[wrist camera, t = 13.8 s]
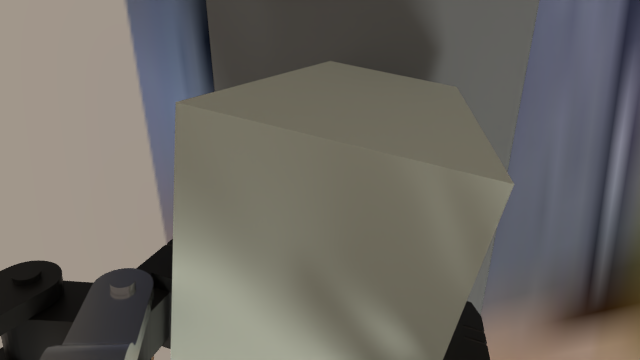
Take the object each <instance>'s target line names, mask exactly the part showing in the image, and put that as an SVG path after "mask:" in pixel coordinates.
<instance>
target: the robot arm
mask: <svg viewBox="0 0 640 360" xmlns="http://www.w3.org/2000/svg"><path fill="white" fill-rule="evenodd" d="M172 263H173V239H172V240H171V241H169V242H168V243H167V245H165V246H163V247H162V248H161V249H160V250H159V251H157V252H156V253H155V254H154V255H153V256H151V257H150V258H149V259H148V260H146V261H145V262H144V263H143V264H141V265H140V266H139V267H138V268H136V269H134V268H124V269H118V270H114V271H111V272H108V273H106V274H104V275H102V276H101V277H99V278H98V279H97V280H96V281H95V282H94V283H89V282H74V281H63V279H62V270H61V268H60V267H59V266H58V265H57V264H55V263H52V262H48V261H29V262H24V263H19V264H16V265H13V266H11V267H8V268H6V269H4V270H2V271H0V336H1V338H2V343H3V347H2V348H1V349H0V360H154V354H155V353H156V352H157V351H158V350H159V348H160V347H161V346H163V347H166V348H169V349H171V312H172ZM486 343H487V342H486V337H485V334H484V327H483V322H482V318H481V316H480V314H479V313H478V311H477V310H476V308H475V307H474V305H473V304H472V302H469V301H466V304H465V306H464V309H463V311H462V314H461V316H460V319H459V321H458V324H457V326H456V329H455V331H454V333H453V336H452V338H451V341H450V343H449V346H448V348H447V351H446V353H445V356H444V358H443V360H490V357H489V352H488V347H487V346H486Z"/></svg>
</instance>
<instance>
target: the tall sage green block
mask: <svg viewBox="0 0 640 360" xmlns="http://www.w3.org/2000/svg"><path fill="white" fill-rule="evenodd" d="M513 186H514V183H513V181H512V180H511V178H510V176H509V175H508V173H507V171H506V170H505V168H504V166H503V164H502V163H501V161H500V159H499V158H498V156H497V154H496V153H495V151H494V149H493V148H492V146H491V144H490V142H489V141H488V139H487V137H486V136H485V134H484V132H483V131H482V129H481V127H480V126H479V124H478V122H477V120H476V119H475V117H474V115H473V114H472V112H471V110H470V109H469V107H468V105H467V104H466V102H465V100H464V98H463V97H462V95H461V93H460V92H459V90H458V88H457V87H455V86H450V85H445V84H440V83H435V82H430V81H425V80H421V79H416V78H411V77H406V76H401V75H396V74H391V73H386V72H382V71H377V70H372V69H367V68H362V67H357V66H352V65H348V64H343V63H338V62H333V61H328V62H324V63H320V64H317V65H313V66H309V67H306V68H302V69H298V70H294V71H291V72H287V73H283V74H279V75H276V76H272V77H268V78H264V79H261V80H257V81H253V82H250V83H246V84H242V85H238V86H235V87H231V88H227V89H223V90H220V91H216V92H212V93H208V94H205V95H201V96H197V97H194V98H190V99H186V100H182V101H179V102H176V118H175V166H174V215H173V263H172V312H171V360H443V358H444V356H445V353H446V351H447V348H448V346H449V343H450V341H451V338H452V336H453V333H454V331H455V329H456V326H457V324H458V321H459V319H460V316H461V314H462V311H463V309H464V306H465V304H466V301H467V299H468V297H469V294H470V292H471V289H472V287H473V284H474V282H475V279H476V277H477V274H478V272H479V270H480V267H481V265H482V262H483V260H484V257H485V255H486V252H487V250H488V247H489V245H490V242H491V240H492V238H493V235H494V233H495V230H496V228H497V225H498V223H499V220H500V218H501V215H502V213H503V210H504V208H505V206H506V203H507V201H508V198H509V196H510V193H511V191H512V188H513Z"/></svg>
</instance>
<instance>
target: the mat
mask: <svg viewBox="0 0 640 360" xmlns="http://www.w3.org/2000/svg"><path fill="white" fill-rule="evenodd" d="M538 5H539V0H206V6H207V16H208V26H209V37H210V47H211V57H212V68H213V78H214V88H215V92H216V91H220V90H223V89H227V88H231V87H235V86H238V85H242V84H246V83H250V82H253V81H257V80H261V79H264V78H268V77H272V76H276V75H279V74H283V73H287V72H291V71H294V70H298V69H302V68H306V67H309V66H313V65H317V64H320V63H324V62H328V61H333V62H338V63H343V64H348V65H352V66H357V67H362V68H367V69H372V70H377V71H382V72H386V73H391V74H396V75H401V76H406V77H411V78H416V79H421V80H425V81H430V82H435V83H440V84H445V85H450V86H455V87H457V88H458V90H459V92H460V93H461V95H462V97H463V98H464V100H465V102H466V104H467V105H468V107H469V109H470V110H471V112H472V114H473V115H474V117H475V119H476V120H477V122H478V124H479V126H480V127H481V129H482V131H483V132H484V134H485V136H486V137H487V139H488V141H489V142H490V144H491V146H492V148H493V149H494V151H495V153H496V154H497V156H498V158H499V159H500V161H501V163H502V164H503V166H504V168H505V170H506V171H508V165H509V160H510V155H511V149H512V144H513V139H514V133H515V128H516V123H517V117H518V112H519V107H520V101H521V96H522V91H523V85H524V80H525V75H526V69H527V64H528V59H529V53H530V48H531V42H532V37H533V32H534V26H535V21H536V16H537V10H538ZM496 229H497V228H496ZM495 235H496V230H495V233H494V235H493V238H492V240H491V242H490V245H489V247H488V250H487V252H486V255H485V257H484V260H483V262H482V265H481V267H480V270H479V272H478V274H477V277H476V279H475V282H474V284H473V287H472V289H471V292H470V294H469V297H468V299H467V301H469V302H472V304H473V305H474V307H475V308H476V310H477V311H478V313H479V314H480V315H481V310H482V304H483V299H484V294H485V288H486V283H487V278H488V272H489V267H490V262H491V256H492V251H493V246H494V240H495Z"/></svg>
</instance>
